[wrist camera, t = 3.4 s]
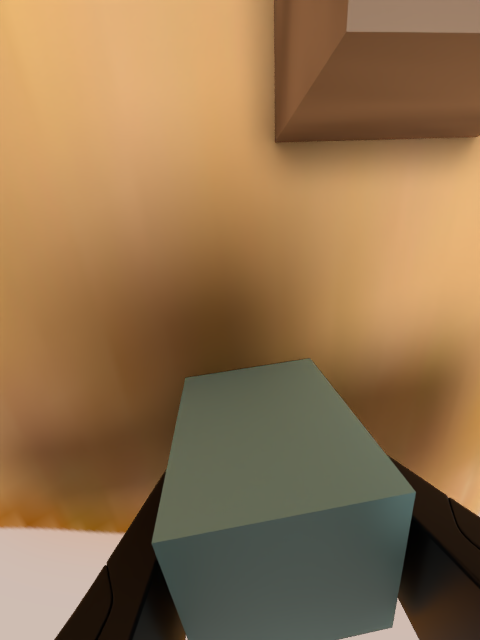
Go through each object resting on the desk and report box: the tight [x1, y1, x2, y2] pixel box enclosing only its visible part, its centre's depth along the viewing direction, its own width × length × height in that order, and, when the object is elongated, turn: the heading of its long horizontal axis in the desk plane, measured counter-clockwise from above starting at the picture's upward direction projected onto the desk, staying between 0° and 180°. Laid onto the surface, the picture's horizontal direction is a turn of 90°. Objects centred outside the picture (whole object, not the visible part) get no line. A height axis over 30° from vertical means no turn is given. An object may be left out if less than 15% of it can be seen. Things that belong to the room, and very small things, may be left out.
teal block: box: [152, 358, 416, 640], centre depth 7 cm, size 5×5×5 cm
